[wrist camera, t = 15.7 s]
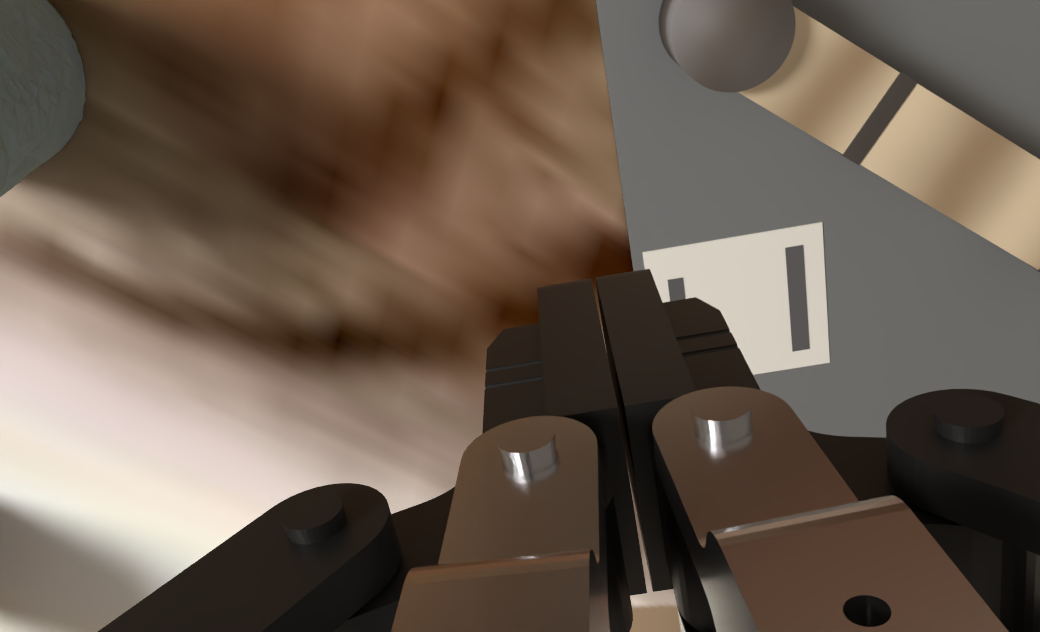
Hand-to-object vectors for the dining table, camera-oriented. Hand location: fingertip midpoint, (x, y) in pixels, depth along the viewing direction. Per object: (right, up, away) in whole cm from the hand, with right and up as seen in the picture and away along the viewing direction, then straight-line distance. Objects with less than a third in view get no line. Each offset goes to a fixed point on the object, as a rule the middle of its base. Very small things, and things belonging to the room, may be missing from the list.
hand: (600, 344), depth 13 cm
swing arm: (+15, +8, +27) cm, 32 cm away
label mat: (+18, +5, +29) cm, 35 cm away
